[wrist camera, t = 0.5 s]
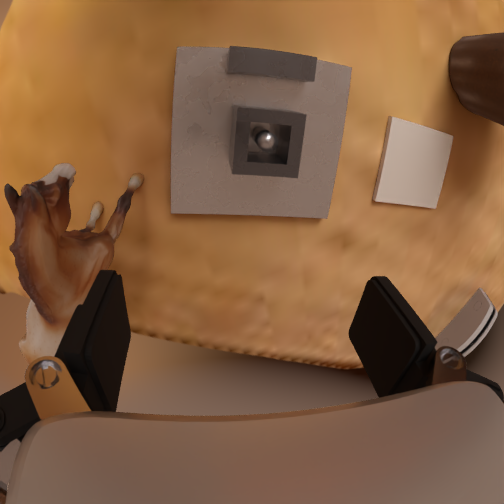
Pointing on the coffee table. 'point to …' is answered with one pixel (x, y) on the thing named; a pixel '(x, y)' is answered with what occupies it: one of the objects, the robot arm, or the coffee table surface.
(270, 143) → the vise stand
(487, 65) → the plant pot
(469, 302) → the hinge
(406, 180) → the pad
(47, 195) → the horse figurine
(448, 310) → the coffee table surface
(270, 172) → the collar
